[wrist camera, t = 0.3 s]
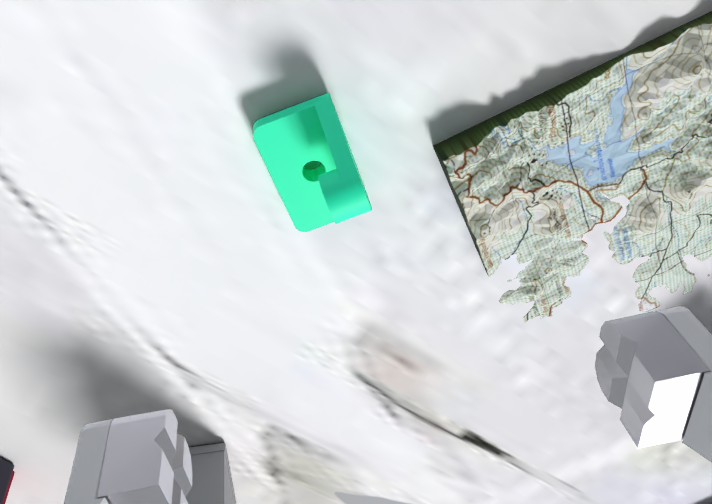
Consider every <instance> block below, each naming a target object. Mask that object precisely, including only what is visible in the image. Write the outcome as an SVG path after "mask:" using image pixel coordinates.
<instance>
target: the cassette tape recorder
mask: <svg viewBox="0 0 712 504" xmlns="http://www.w3.org/2000/svg"><path fill="white" fill-rule="evenodd" d="M189 451H190V455H191V462H192V473H193V474H192V488H191V490H190V491H189V492H188V494H187V495H186V497H185V498H186V500H187V502H188V504H236V500H235V494H234V489H233V483H232V478H231V472H230V467H229V461H228V456H227V451H226V445H225V443H219V444H211V445H204V446H196V447H189Z"/></svg>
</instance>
